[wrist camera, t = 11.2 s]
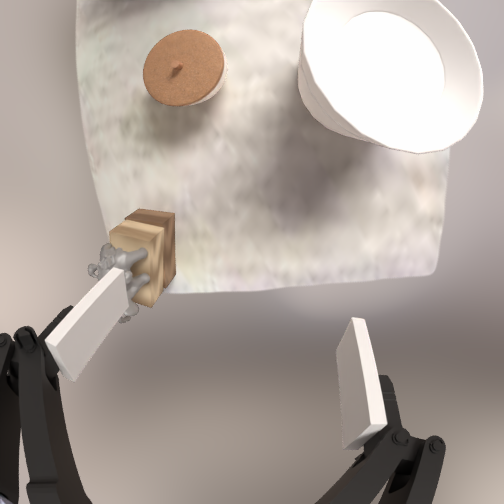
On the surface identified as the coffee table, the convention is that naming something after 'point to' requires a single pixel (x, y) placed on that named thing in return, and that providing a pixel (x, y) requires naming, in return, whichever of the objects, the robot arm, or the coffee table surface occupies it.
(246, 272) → the coffee table surface
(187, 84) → the lidded jar
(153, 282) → the light wooden block
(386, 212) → the coffee table surface
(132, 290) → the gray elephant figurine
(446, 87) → the canister
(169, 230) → the tower base
